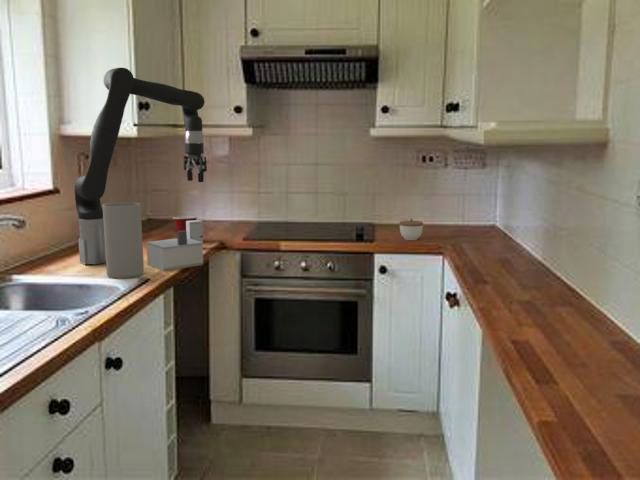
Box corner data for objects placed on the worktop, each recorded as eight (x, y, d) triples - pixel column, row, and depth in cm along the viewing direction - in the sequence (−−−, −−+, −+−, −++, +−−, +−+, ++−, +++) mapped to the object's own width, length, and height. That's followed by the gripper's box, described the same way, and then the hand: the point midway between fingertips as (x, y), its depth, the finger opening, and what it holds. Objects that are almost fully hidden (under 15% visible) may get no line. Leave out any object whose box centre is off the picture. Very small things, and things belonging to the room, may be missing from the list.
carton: (163, 271, 233) (162, 249, 231) (147, 264, 243) (146, 243, 242) (203, 265, 242) (202, 244, 241) (186, 259, 253) (185, 239, 252)
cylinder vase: (147, 270, 233) (144, 202, 229) (139, 278, 221) (135, 206, 216) (113, 271, 233) (108, 202, 228) (102, 279, 221) (97, 206, 216)
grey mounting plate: (163, 249, 231) (162, 233, 230) (146, 243, 242) (145, 228, 241) (203, 243, 241) (202, 229, 240) (185, 238, 252) (184, 224, 251)
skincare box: (190, 250, 271) (189, 222, 269) (186, 249, 274) (185, 220, 272) (204, 249, 274) (202, 220, 272) (199, 247, 278) (198, 219, 276)
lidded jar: (401, 236, 303) (401, 216, 301) (424, 237, 300) (424, 217, 298) (397, 240, 292) (397, 219, 291) (421, 241, 290) (421, 220, 288)
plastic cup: (199, 240, 295) (198, 214, 293) (197, 244, 284) (196, 217, 282) (175, 241, 294) (173, 214, 292) (172, 245, 283) (171, 218, 281)
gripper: (177, 142, 269) (178, 180, 272) (195, 142, 259) (196, 183, 261) (192, 141, 274) (194, 179, 277) (211, 142, 264) (212, 182, 266)
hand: (195, 181), depth 269 cm, fingers open, 8 cm apart
